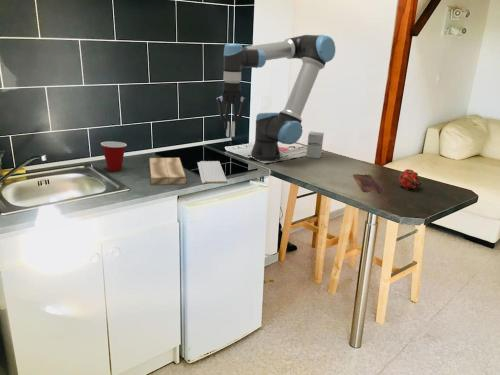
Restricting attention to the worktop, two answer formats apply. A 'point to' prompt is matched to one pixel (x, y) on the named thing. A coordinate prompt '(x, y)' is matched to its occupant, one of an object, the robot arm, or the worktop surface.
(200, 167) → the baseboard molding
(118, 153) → the plastic cup
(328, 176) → the worktop surface
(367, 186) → the wooden tablet
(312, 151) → the supplement box
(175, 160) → the oak floor section
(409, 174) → the dragon fruit
